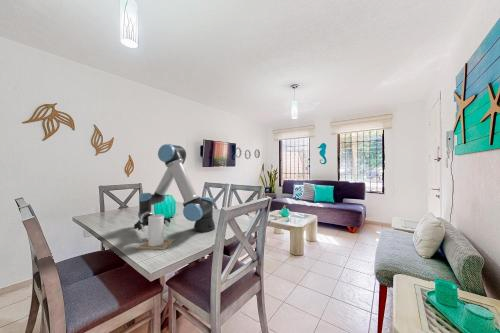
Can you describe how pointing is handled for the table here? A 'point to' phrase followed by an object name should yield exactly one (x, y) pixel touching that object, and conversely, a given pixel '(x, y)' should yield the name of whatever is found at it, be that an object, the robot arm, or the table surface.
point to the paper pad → (162, 246)
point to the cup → (155, 230)
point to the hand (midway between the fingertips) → (156, 227)
